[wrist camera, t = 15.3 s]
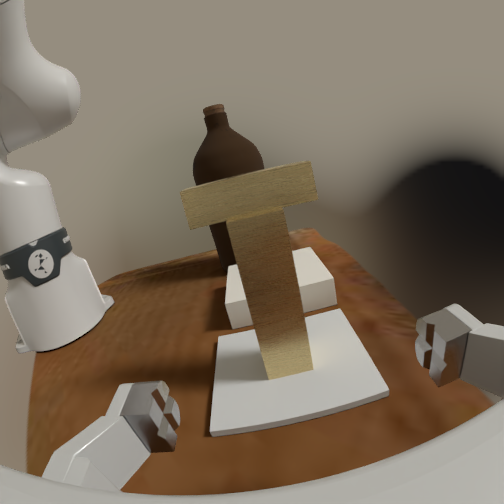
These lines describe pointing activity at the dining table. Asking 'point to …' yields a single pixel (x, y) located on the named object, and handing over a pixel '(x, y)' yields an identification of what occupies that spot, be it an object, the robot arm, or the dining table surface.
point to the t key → (263, 254)
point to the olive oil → (223, 167)
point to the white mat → (292, 379)
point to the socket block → (309, 279)
